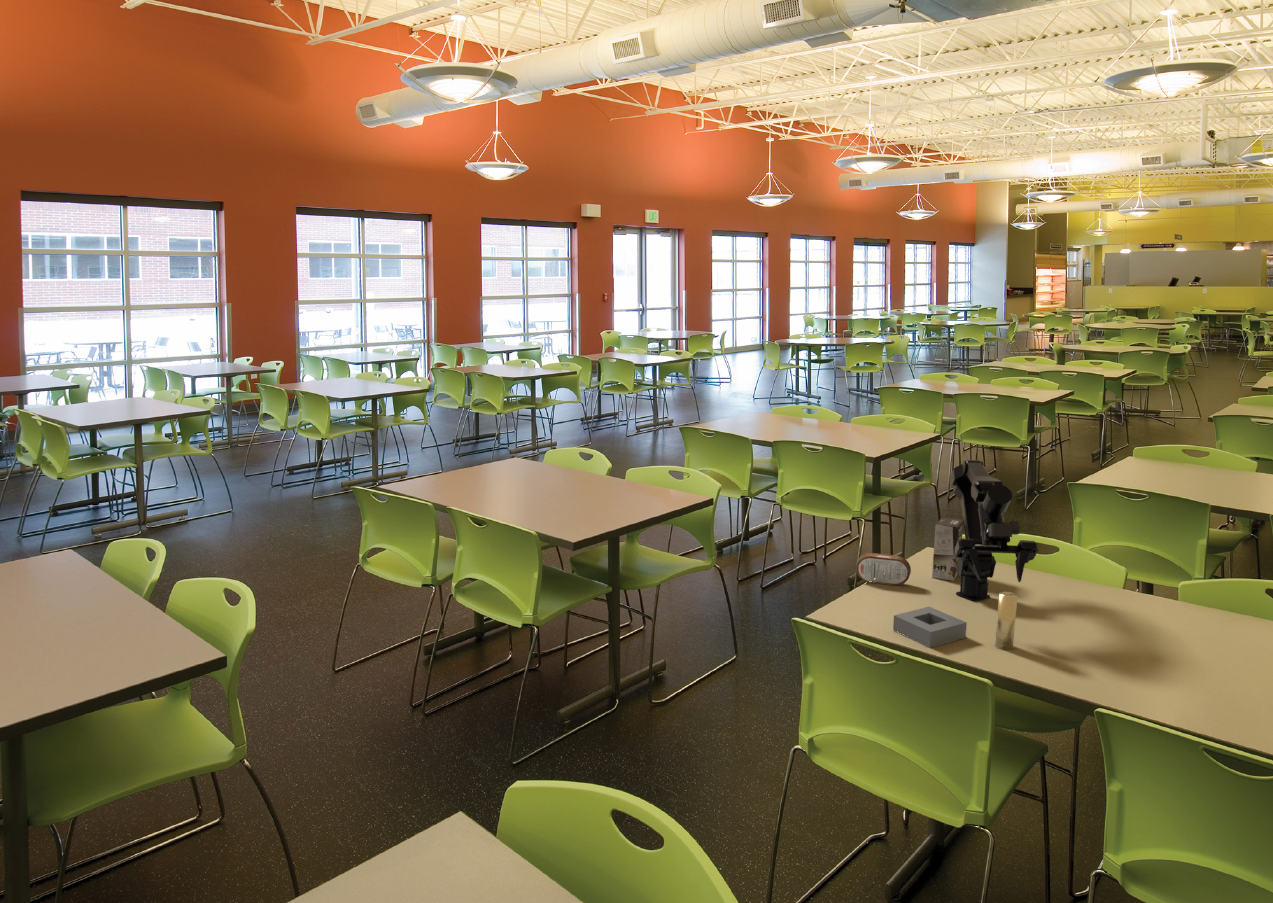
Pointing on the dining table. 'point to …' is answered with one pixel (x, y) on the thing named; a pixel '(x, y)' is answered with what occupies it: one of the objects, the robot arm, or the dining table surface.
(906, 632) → the dock block
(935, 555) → the coffee box
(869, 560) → the tin
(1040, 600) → the dining table surface
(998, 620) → the peg
